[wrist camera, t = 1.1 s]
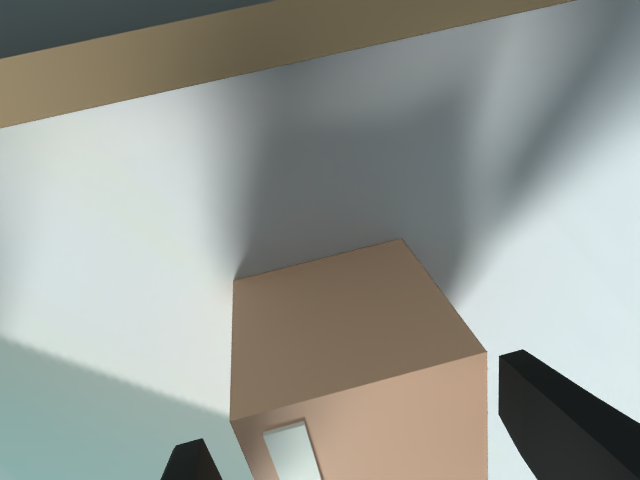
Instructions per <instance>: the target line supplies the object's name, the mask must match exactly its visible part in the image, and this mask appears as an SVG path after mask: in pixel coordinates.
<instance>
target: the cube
mask: <svg viewBox="0 0 640 480" xmlns="http://www.w3.org/2000/svg"><path fill="white" fill-rule="evenodd" d="M230 423H231V425H232V428H233V430H234V433H235V435H236V437H237V440H238V442H239V444H240V447H241V449H242V452H243V454H244V456H245V459H246V461H247V463H248V466H249V468H250V471H251V473H252V475H253V477H254V480H488V435H487V351H486V350H485V348H484V347H483V346H482V344H481V343H480V342H479V340H478V339H477V338H476V337H475V335H474V334H473V333H472V331H471V330H470V329H469V327H468V326H467V325H466V323H465V322H464V321H463V319H462V318H461V317H460V315H459V314H458V313H457V311H456V310H455V309H454V307H453V306H452V305H451V303H450V302H449V301H448V299H447V298H446V297H445V295H444V294H443V293H442V291H441V290H440V289H439V287H438V286H437V285H436V283H435V282H434V281H433V279H432V278H431V277H430V275H429V274H428V273H427V271H426V270H425V269H424V267H423V266H422V265H421V263H420V262H419V261H418V260H417V258H416V257H415V256H414V254H413V253H412V252H411V250H410V249H409V248H408V246H407V245H406V244H405V242H404V241H403V240H402V238H401V239H397V240H393V241H389V242H385V243H381V244H377V245H373V246H369V247H365V248H361V249H357V250H353V251H349V252H345V253H342V254H338V255H334V256H330V257H326V258H322V259H318V260H314V261H310V262H306V263H302V264H298V265H294V266H290V267H286V268H282V269H278V270H274V271H270V272H266V273H262V274H258V275H254V276H250V277H246V278H242V279H238V280H234V281H233V311H232V349H231V387H230Z"/></svg>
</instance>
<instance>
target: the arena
mask: <svg viewBox="0 0 640 480" xmlns="http://www.w3.org/2000/svg"><path fill="white" fill-rule="evenodd" d="M571 1H575V0H0V128H4V127H9V126H13V125H18V124H22V123H27V122H31V121H36V120H40V119H45V118H49V117H54V116H58V115H63V114H67V113H72V112H76V111H81V110H85V109H90V108H94V107H99V106H103V105H108V104H112V103H117V102H121V101H126V100H130V99H135V98H139V97H144V96H148V95H153V94H157V93H162V92H166V91H171V90H175V89H180V88H184V87H189V86H193V85H198V84H202V83H207V82H211V81H215V80H220V79H225V78H229V77H233V76H238V75H242V74H247V73H251V72H256V71H260V70H265V69H269V68H274V67H278V66H283V65H287V64H292V63H296V62H301V61H305V60H310V59H314V58H319V57H323V56H328V55H332V54H337V53H341V52H346V51H350V50H355V49H359V48H364V47H368V46H373V45H377V44H382V43H386V42H391V41H395V40H400V39H404V38H409V37H413V36H418V35H422V34H427V33H431V32H436V31H440V30H445V29H449V28H454V27H458V26H463V25H467V24H472V23H476V22H481V21H485V20H490V19H494V18H499V17H503V16H508V15H512V14H517V13H521V12H526V11H530V10H535V9H539V8H544V7H548V6H553V5H557V4H562V3H566V2H571Z"/></svg>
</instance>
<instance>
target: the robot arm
mask: <svg viewBox="0 0 640 480" xmlns="http://www.w3.org/2000/svg"><path fill="white" fill-rule="evenodd" d="M499 416H500V418H501V420H502V422H503V424H504V425H505V427H506V429H507V431H508V433H509V435H510V437H511V438H512V440H513V442H514V444H515V446H516V447H517V449H518V451H519V453H520V454H521V456H522V458H523V459H524V461H525V462H526V464H527V465H528V467H529V468H530V469H531V471H532V472H533V474H534V475H535V477H536V478H537V480H640V423H638V422H636V421H635V420H633V419H631V418H630V417H628V416H626V415H625V414H623V413H622V412H620V411H618V410H617V409H615V408H613V407H612V406H610V405H609V404H607V403H605V402H604V401H602V400H600V399H599V398H597V397H596V396H594V395H592V394H591V393H589V392H588V391H586V390H585V389H583V388H582V387H580V386H578V385H577V384H575V383H574V382H572V381H571V380H569V379H568V378H566V377H565V376H563V375H562V374H560V373H559V372H557V371H556V370H554V369H552V368H551V367H549V366H548V365H546V364H545V363H543V362H542V361H540V360H539V359H537V358H536V357H534V356H533V355H531V354H530V353H528V352H526V351H525V350H523V349H522V350H519V351H515V352H511V353H508V354H504V355H501V356H499ZM161 480H222V478H221V476H220V474H219V471H218V469H217V467H216V465H215V463H214V461H213V459H212V457H211V455H210V453H209V451H208V449H207V447H206V444H205V443H204V440H203V439H198V440H194V441H190V442H187V443H183V444H180V445H176V447H175V448H174V450H173V451H172V454H171V456H170V459H169V461H168V463H167V466H166V468H165V470H164V473H163V475H162V478H161Z"/></svg>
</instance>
